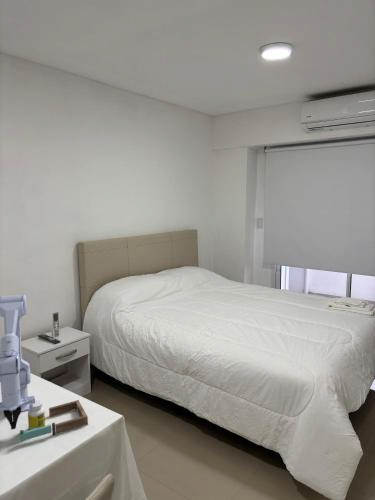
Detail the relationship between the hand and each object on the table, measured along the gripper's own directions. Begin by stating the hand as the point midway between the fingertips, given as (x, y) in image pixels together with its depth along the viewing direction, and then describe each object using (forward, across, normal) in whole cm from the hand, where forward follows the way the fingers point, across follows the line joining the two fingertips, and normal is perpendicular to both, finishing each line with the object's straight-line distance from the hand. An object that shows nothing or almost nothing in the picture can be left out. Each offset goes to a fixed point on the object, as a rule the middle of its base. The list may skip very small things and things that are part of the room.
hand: (13, 427), depth 129 cm
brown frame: (+3, +17, 0) cm, 17 cm away
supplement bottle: (+3, +8, 0) cm, 8 cm away
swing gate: (+2, +6, -6) cm, 9 cm away
